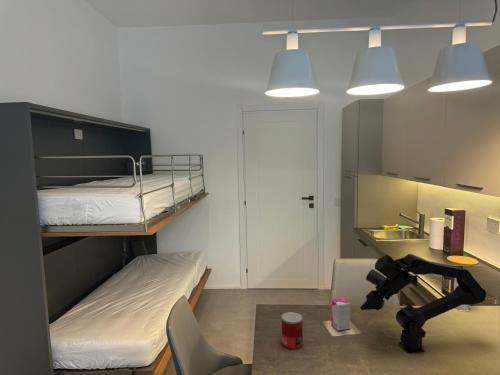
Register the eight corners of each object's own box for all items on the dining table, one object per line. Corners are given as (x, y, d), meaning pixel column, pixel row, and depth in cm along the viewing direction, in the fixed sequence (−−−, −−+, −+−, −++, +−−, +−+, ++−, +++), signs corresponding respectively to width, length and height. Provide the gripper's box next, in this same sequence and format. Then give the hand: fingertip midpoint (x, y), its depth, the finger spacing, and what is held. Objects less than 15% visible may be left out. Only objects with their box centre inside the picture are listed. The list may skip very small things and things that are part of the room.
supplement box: (350, 329, 139) (350, 303, 138) (337, 332, 137) (337, 305, 136) (343, 323, 145) (343, 297, 143) (330, 325, 143) (330, 299, 142)
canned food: (300, 351, 125) (300, 323, 124) (279, 347, 128) (279, 320, 126) (304, 340, 132) (304, 313, 131) (284, 337, 135) (284, 310, 134)
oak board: (348, 321, 148) (348, 318, 148) (361, 336, 136) (361, 333, 136) (322, 324, 146) (322, 321, 146) (332, 339, 135) (332, 336, 135)
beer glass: (454, 303, 160) (455, 273, 158) (471, 307, 155) (473, 276, 154) (451, 309, 154) (453, 277, 153) (469, 313, 150) (471, 281, 148)
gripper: (386, 258, 134) (358, 279, 142) (372, 272, 119) (341, 295, 127) (407, 281, 130) (377, 302, 138) (395, 299, 116) (362, 321, 123)
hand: (365, 304), depth 132 cm, fingers open, 9 cm apart
